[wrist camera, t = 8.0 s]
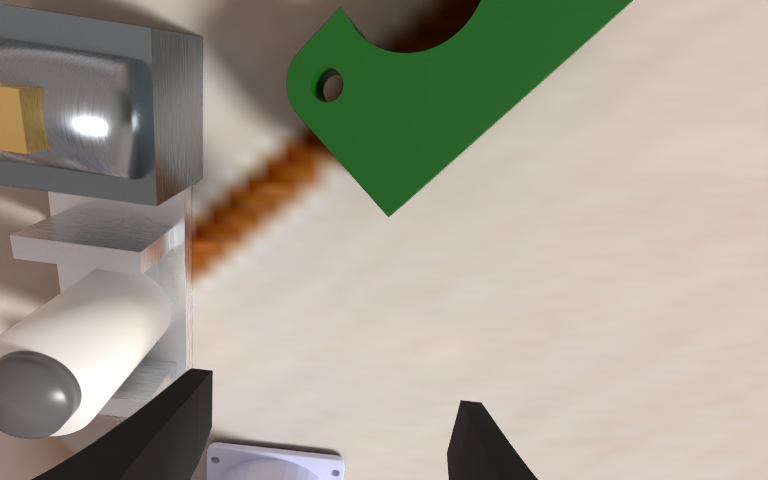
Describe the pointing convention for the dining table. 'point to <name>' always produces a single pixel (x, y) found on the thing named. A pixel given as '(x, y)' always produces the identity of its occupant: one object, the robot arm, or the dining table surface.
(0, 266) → the dining table surface
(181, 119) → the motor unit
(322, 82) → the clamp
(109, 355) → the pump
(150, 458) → the robot arm
